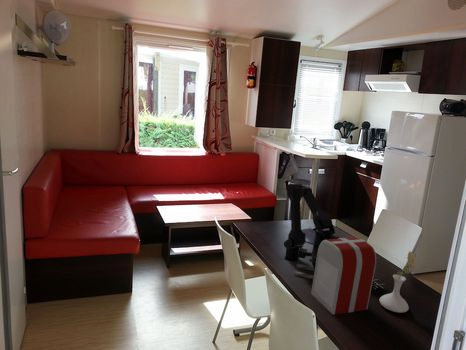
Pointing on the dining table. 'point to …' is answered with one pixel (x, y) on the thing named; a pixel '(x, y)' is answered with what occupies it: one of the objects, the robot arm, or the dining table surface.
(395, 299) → the flower in vase
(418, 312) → the dining table surface
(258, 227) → the dining table surface
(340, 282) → the striped gift box
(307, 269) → the birch dock
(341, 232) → the dining table surface
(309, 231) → the toy spaceship
